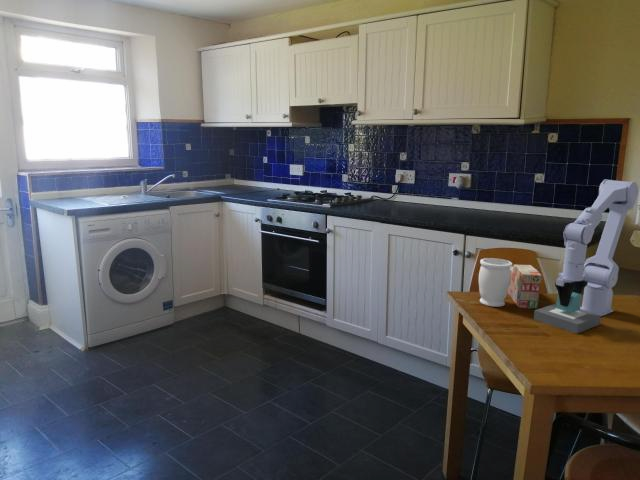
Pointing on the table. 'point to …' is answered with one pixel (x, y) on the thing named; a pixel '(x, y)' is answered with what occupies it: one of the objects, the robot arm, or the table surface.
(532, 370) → the table surface
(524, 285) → the stack of blocks
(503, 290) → the jar
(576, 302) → the teal cube
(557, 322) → the white-inset grey tile
